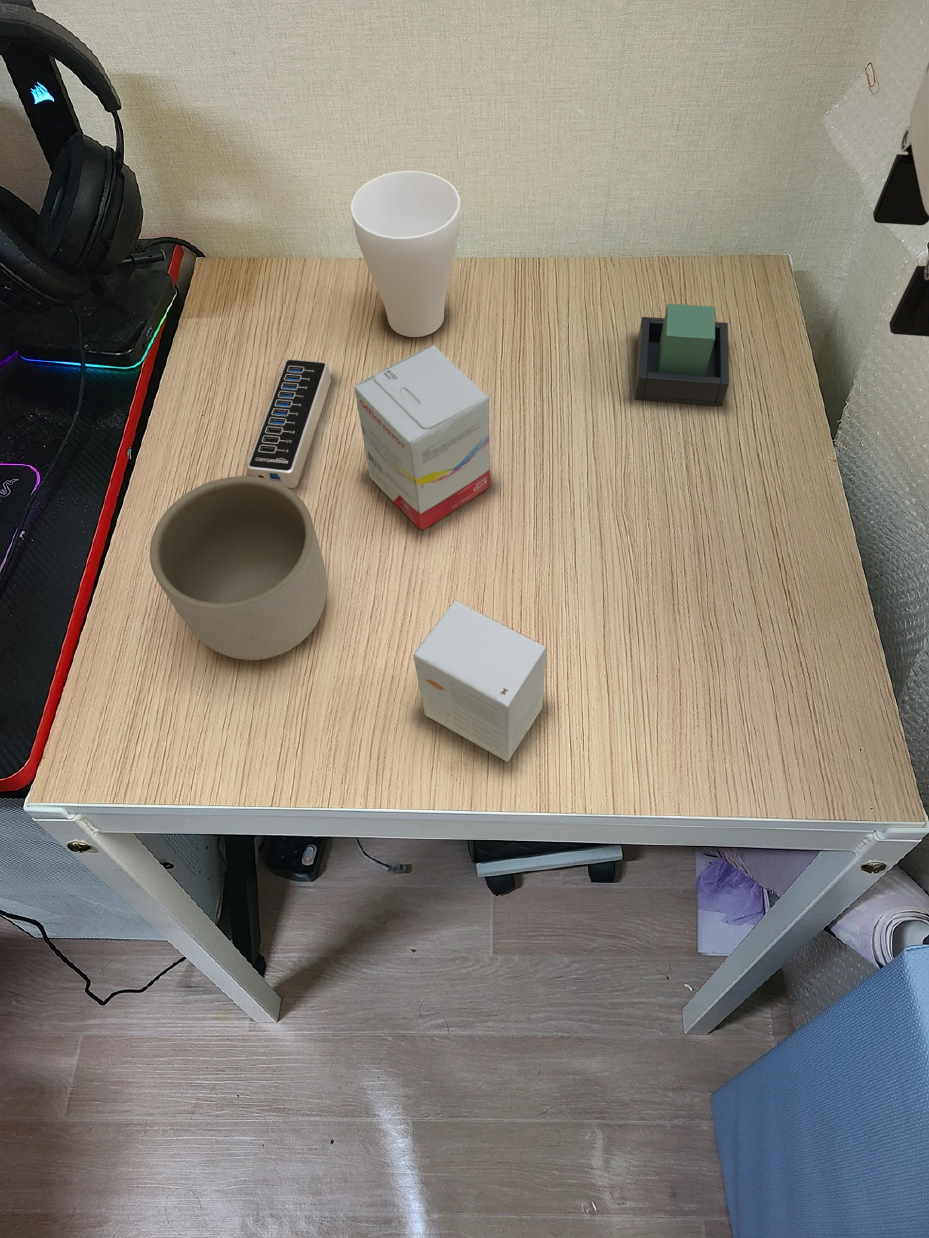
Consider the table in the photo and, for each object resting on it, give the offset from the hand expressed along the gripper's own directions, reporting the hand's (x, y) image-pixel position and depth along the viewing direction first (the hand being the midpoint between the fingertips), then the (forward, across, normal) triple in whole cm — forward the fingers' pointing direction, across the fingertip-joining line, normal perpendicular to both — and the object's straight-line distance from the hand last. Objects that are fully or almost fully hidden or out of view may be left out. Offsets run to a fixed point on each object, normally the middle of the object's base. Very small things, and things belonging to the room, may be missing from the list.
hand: (907, 274), depth 50 cm
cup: (+30, +28, +36) cm, 55 cm away
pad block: (+30, +23, +8) cm, 38 cm away
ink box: (+30, +6, +31) cm, 44 cm away
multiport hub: (+30, +11, +46) cm, 56 cm away
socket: (+30, +23, +8) cm, 39 cm away
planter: (+30, -10, +43) cm, 54 cm away
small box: (+30, -17, +23) cm, 42 cm away
